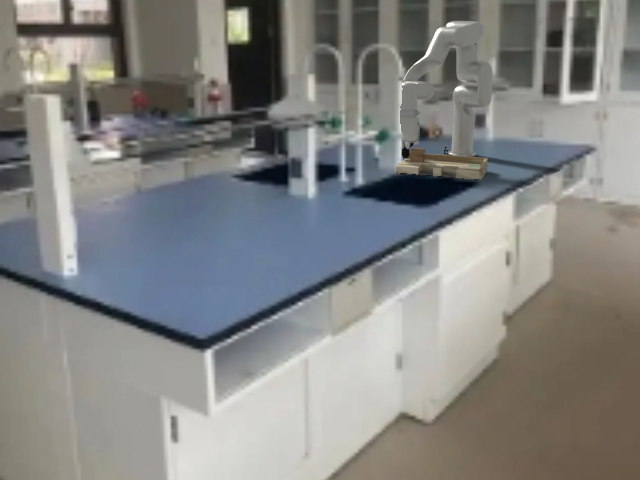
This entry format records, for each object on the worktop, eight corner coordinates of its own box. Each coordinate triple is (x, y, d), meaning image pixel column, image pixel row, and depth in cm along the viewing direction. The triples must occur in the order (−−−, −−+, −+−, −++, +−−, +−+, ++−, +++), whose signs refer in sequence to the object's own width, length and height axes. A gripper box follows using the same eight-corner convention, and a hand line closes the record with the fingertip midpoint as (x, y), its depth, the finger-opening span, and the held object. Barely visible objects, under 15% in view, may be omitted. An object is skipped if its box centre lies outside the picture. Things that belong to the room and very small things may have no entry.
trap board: (405, 165, 299) (406, 152, 298) (486, 171, 289) (487, 158, 287) (395, 173, 283) (396, 159, 281) (481, 180, 272) (482, 166, 271)
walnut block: (412, 159, 295) (413, 147, 293) (424, 160, 293) (425, 148, 292) (410, 161, 290) (410, 149, 289) (422, 162, 289) (422, 150, 287)
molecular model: (477, 166, 299) (478, 146, 296) (441, 165, 300) (442, 146, 297) (475, 163, 305) (476, 144, 302) (440, 162, 306) (441, 143, 303)
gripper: (427, 113, 289) (424, 157, 294) (391, 111, 294) (390, 155, 299) (423, 115, 282) (421, 160, 288) (387, 113, 287) (385, 158, 292)
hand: (405, 157), depth 293 cm, fingers closed
